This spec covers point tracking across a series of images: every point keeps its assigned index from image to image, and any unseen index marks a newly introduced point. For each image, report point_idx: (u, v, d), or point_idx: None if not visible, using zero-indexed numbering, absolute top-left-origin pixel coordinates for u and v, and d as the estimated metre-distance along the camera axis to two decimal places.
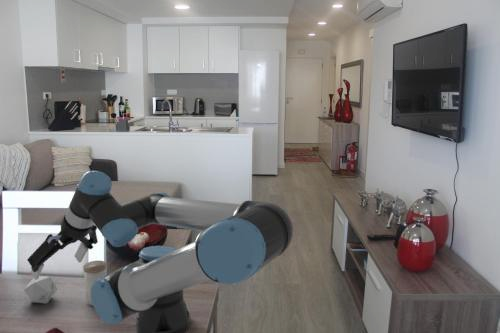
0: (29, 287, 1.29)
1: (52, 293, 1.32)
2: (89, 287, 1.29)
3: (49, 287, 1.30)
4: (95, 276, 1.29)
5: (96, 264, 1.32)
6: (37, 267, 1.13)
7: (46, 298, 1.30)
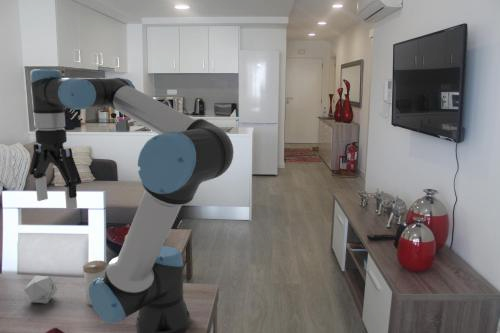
0: (29, 287, 1.29)
1: (52, 293, 1.32)
2: None
3: (49, 287, 1.30)
4: (95, 276, 1.29)
5: (96, 264, 1.32)
6: None
7: (46, 298, 1.30)
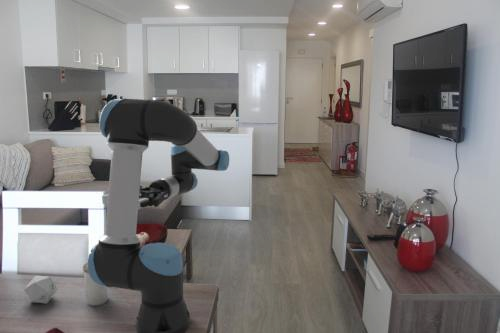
0: (29, 287, 1.29)
1: (52, 293, 1.32)
2: (89, 287, 1.29)
3: (49, 287, 1.30)
4: None
5: None
6: None
7: (46, 298, 1.30)
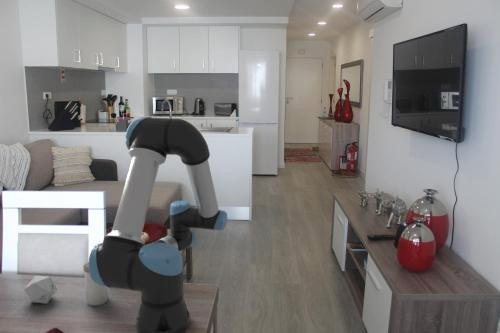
0: (29, 287, 1.29)
1: (52, 293, 1.32)
2: (89, 287, 1.29)
3: (49, 287, 1.30)
4: None
5: None
6: None
7: (46, 298, 1.30)
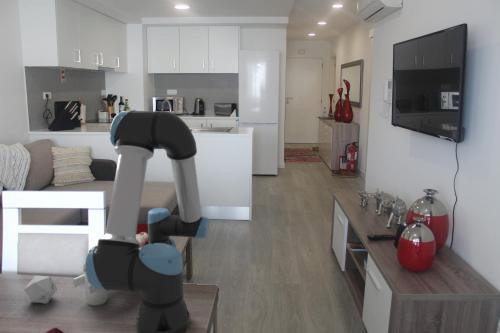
0: (29, 287, 1.29)
1: (52, 293, 1.32)
2: None
3: (49, 287, 1.30)
4: None
5: None
6: None
7: (46, 298, 1.30)
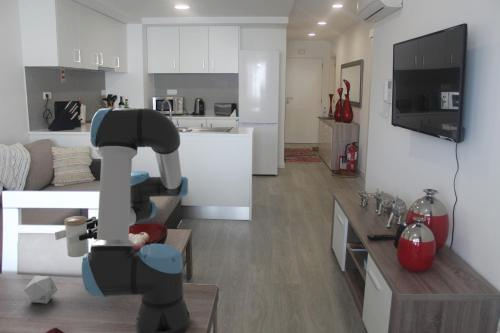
0: (29, 287, 1.29)
1: (52, 293, 1.32)
2: None
3: (49, 287, 1.30)
4: (75, 229, 1.36)
5: (77, 218, 1.39)
6: None
7: (46, 298, 1.30)
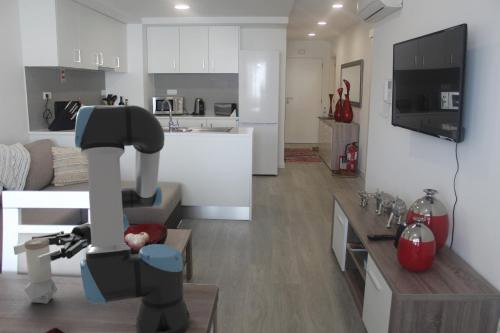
0: (29, 287, 1.29)
1: (52, 293, 1.32)
2: (30, 264, 1.27)
3: (49, 287, 1.30)
4: (36, 253, 1.26)
5: (38, 241, 1.29)
6: None
7: (46, 298, 1.30)
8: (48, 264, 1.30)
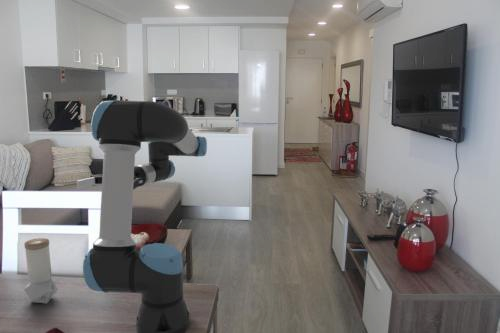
0: (29, 287, 1.29)
1: (52, 293, 1.32)
2: (30, 264, 1.27)
3: (49, 287, 1.30)
4: (36, 253, 1.26)
5: (38, 241, 1.29)
6: None
7: (46, 298, 1.30)
8: (48, 264, 1.30)
